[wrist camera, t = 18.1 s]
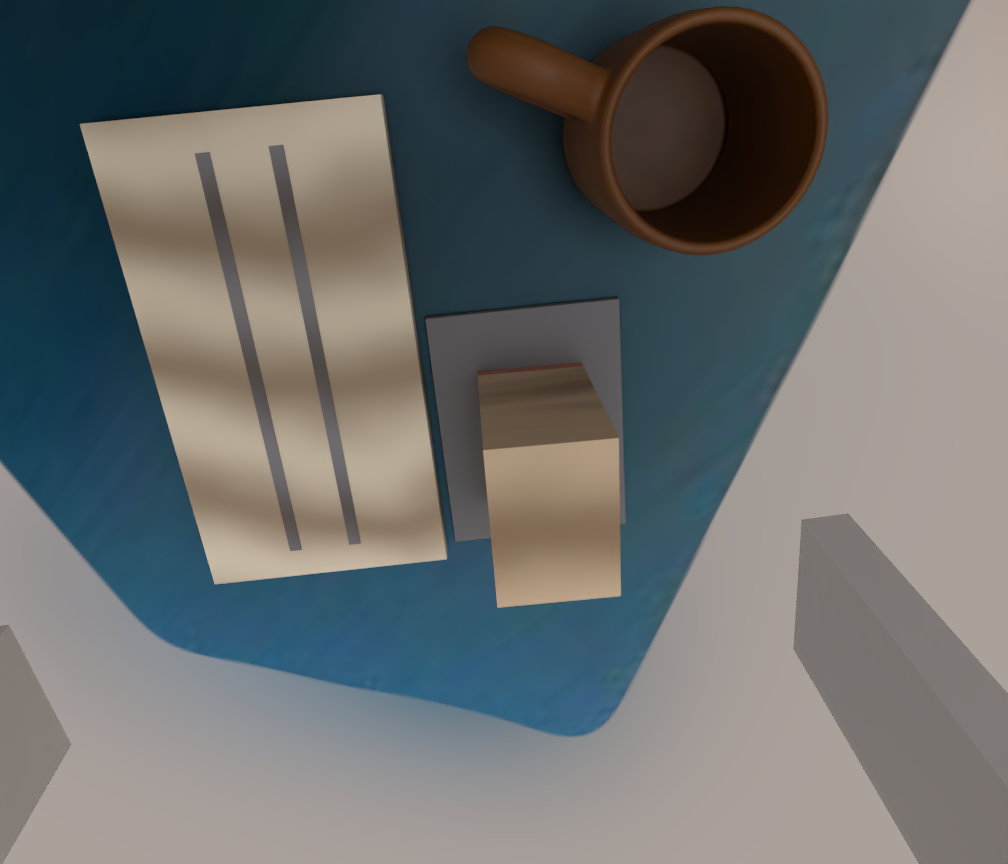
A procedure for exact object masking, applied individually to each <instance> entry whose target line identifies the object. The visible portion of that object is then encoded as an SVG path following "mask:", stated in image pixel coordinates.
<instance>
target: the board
mask: <svg viewBox="0 0 1008 864" xmlns="http://www.w3.org/2000/svg"><path fill="white" fill-rule="evenodd" d="M80 127H81V131H82V134H83V137H84V141H85V144H86V148H87V151H88V154H89V158H90V161H91V165H92V168H93V171H94V175H95V178H96V182H97V185H98V188H99V192H100V195H101V199H102V202H103V205H104V209H105V212H106V216H107V219H108V223H109V226H110V229H111V233H112V236H113V240H114V243H115V246H116V250H117V253H118V257H119V260H120V263H121V267H122V270H123V274H124V277H125V280H126V284H127V287H128V291H129V294H130V297H131V301H132V304H133V308H134V311H135V314H136V318H137V321H138V325H139V328H140V331H141V335H142V338H143V342H144V345H145V348H146V352H147V355H148V359H149V362H150V366H151V369H152V372H153V376H154V379H155V383H156V386H157V389H158V393H159V396H160V400H161V403H162V406H163V410H164V413H165V417H166V420H167V423H168V427H169V430H170V434H171V437H172V440H173V444H174V447H175V451H176V454H177V457H178V461H179V464H180V468H181V471H182V474H183V478H184V481H185V485H186V488H187V492H188V495H189V498H190V502H191V505H192V509H193V512H194V515H195V519H196V522H197V526H198V529H199V532H200V536H201V539H202V543H203V546H204V549H205V553H206V556H207V560H208V563H209V566H210V570H211V573H212V577H213V580H214V583H215V584H223V583H232V582H241V581H251V580H260V579H269V578H278V577H288V576H297V575H306V574H315V573H324V572H334V571H343V570H352V569H361V568H371V567H380V566H389V565H398V564H408V563H417V562H426V561H435V560H445V559H447V541H446V534H445V527H444V520H443V513H442V506H441V499H440V492H439V485H438V478H437V471H436V464H435V457H434V450H433V443H432V436H431V429H430V421H429V414H428V407H427V400H426V393H425V386H424V379H423V372H422V365H421V358H420V351H419V344H418V337H417V330H416V323H415V316H414V308H413V301H412V294H411V287H410V280H409V273H408V266H407V259H406V252H405V245H404V238H403V231H402V224H401V217H400V210H399V203H398V196H397V188H396V181H395V174H394V167H393V160H392V153H391V146H390V139H389V132H388V125H387V118H386V111H385V104H384V97H383V95H381V94H378V95H368V96H358V97H348V98H338V99H328V100H318V101H307V102H297V103H287V104H277V105H267V106H257V107H247V108H236V109H226V110H216V111H206V112H196V113H186V114H176V115H165V116H155V117H145V118H135V119H125V120H115V121H105V122H94V123H84V124H80Z"/></svg>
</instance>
